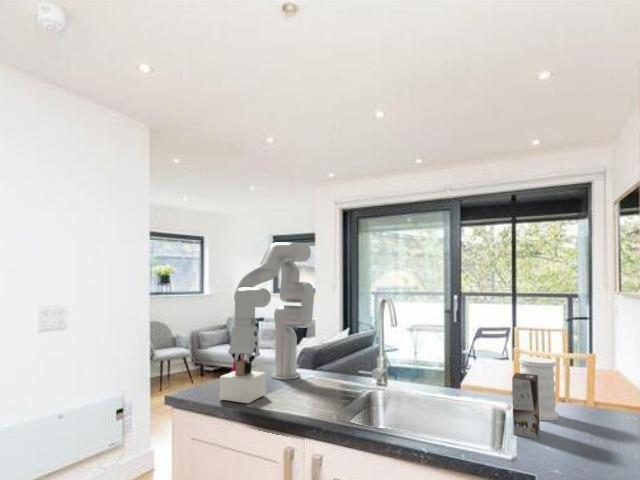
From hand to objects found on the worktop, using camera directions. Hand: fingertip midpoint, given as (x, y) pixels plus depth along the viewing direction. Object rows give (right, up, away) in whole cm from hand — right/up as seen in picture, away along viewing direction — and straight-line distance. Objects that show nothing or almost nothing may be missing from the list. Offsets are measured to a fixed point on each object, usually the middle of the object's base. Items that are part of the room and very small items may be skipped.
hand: (243, 372), depth 153 cm
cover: (0, -9, -1) cm, 9 cm away
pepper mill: (-4, -11, +12) cm, 17 cm away
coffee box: (+89, -8, -31) cm, 95 cm away
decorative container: (+101, -10, -15) cm, 102 cm away
